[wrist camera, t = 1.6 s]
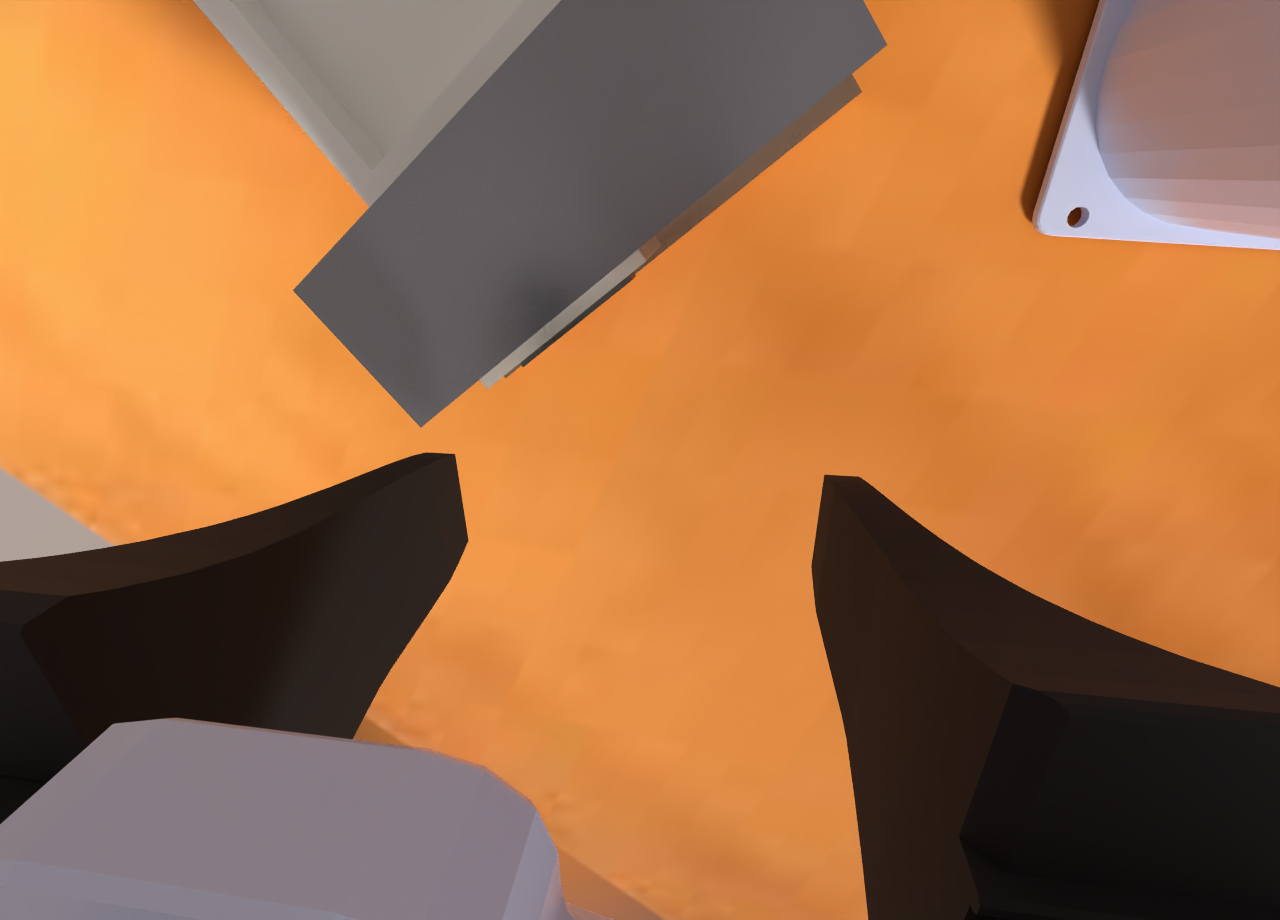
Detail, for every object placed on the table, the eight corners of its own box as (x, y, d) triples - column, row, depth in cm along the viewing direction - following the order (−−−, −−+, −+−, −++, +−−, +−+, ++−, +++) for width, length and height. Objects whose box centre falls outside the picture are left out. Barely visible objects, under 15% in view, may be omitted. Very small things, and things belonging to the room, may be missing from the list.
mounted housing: (749, -87, 15) (761, -274, 9) (855, 95, 16) (930, 49, 10) (413, 248, 20) (263, 286, 13) (515, 369, 21) (422, 453, 15)
